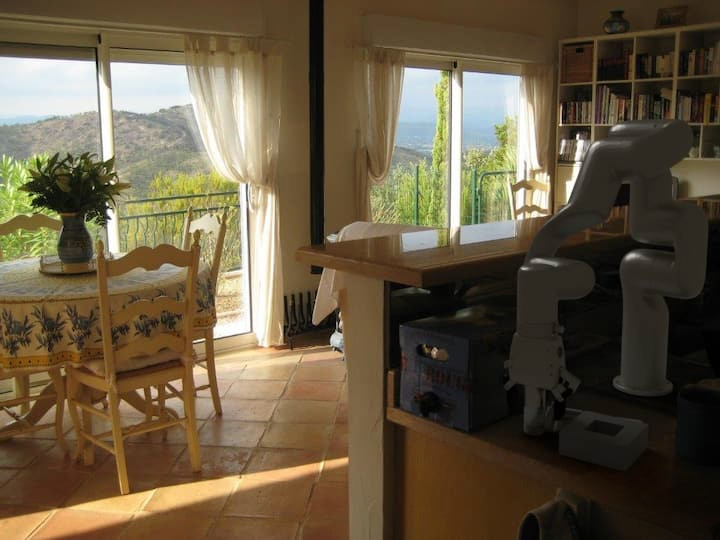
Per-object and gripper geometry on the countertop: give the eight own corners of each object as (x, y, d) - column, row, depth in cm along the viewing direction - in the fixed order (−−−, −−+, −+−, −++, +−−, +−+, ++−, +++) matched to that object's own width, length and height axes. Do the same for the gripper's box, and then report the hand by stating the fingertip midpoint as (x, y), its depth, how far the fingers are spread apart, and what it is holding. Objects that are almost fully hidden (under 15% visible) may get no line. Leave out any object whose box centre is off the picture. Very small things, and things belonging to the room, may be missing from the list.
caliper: (546, 433, 142) (546, 403, 140) (544, 431, 143) (545, 401, 141) (648, 428, 142) (650, 398, 141) (646, 426, 143) (647, 396, 142)
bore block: (584, 432, 141) (585, 410, 140) (647, 447, 133) (648, 424, 133) (558, 454, 132) (559, 431, 131) (625, 471, 124) (626, 447, 123)
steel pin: (529, 425, 145) (530, 378, 143) (548, 430, 142) (549, 381, 140) (520, 432, 142) (520, 383, 140) (539, 437, 139) (540, 387, 137)
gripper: (588, 330, 136) (585, 416, 139) (505, 318, 146) (504, 398, 150) (572, 340, 130) (570, 429, 133) (487, 326, 141) (486, 409, 144)
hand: (535, 412), depth 141 cm, fingers open, 9 cm apart
